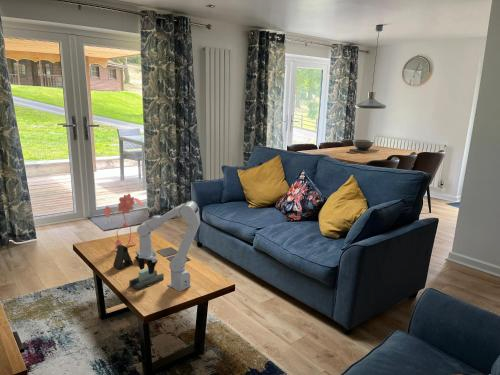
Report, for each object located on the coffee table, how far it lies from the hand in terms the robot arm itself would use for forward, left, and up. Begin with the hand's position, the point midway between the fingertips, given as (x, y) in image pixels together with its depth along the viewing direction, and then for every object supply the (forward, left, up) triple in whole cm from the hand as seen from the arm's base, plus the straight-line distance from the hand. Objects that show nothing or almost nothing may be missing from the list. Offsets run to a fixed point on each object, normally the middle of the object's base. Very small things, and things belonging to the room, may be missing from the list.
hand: (146, 271), depth 192 cm
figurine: (+45, -19, -7) cm, 49 cm away
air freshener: (+25, -18, -7) cm, 32 cm away
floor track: (0, 0, -6) cm, 6 cm away
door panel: (0, 0, -5) cm, 5 cm away
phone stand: (+26, -3, -7) cm, 27 cm away
